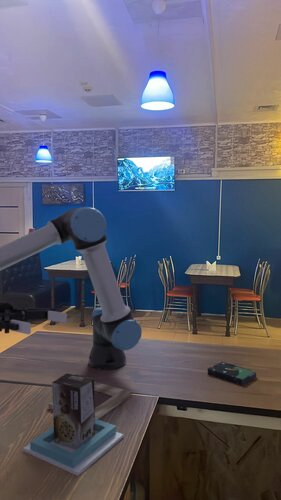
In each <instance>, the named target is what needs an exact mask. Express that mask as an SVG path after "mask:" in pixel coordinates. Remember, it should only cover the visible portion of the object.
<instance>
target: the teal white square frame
mask: <svg viewBox="0 0 281 500" xmlns="http://www.w3.org/2000/svg"><path fill="white" fill-rule="evenodd" d="M123 438H124V434H123V433H121V432H117V425H115V424H112V423H109V422H106V421H103V420H100V419H95V436H93V437H92V438H91V439H89V440H88V441H87V442H86V443H84V444H83V445H82V446H80V447H79V448H78V449H73V448H70V447H67V446H64V445H60V444H57V443H54V426H53V427H51V428H49V429H47V430H45V432H43V433H41V434H39V436H36V437H35V438H33V439H31V440H30V441H29V443H28V444H27V445H25V446H24V447H23V448H22V449H23V452H25V453H27V454H29V455H31V456H34V457H36V458H37V459H39V460H43V461H45V462H46V463H48V464H51V465H53V466H56V467H58V468H60V469H62V470H65V472H68V473H71V474H73V475H75V476H77V477H79V476H80V475H81V474H82V473H84V472H85V471H86V470H88V469H89V467H91V466H92V465H93V464H94V463H95V462H96V461H97V460H99V459H100V458H102V456H103V455H104V454H105V453H107V452H108V451H109V450H111V449H112V448H113V447H114V446H115V445H116V444H118V443H119V441H121V440H122V439H123Z"/></svg>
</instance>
